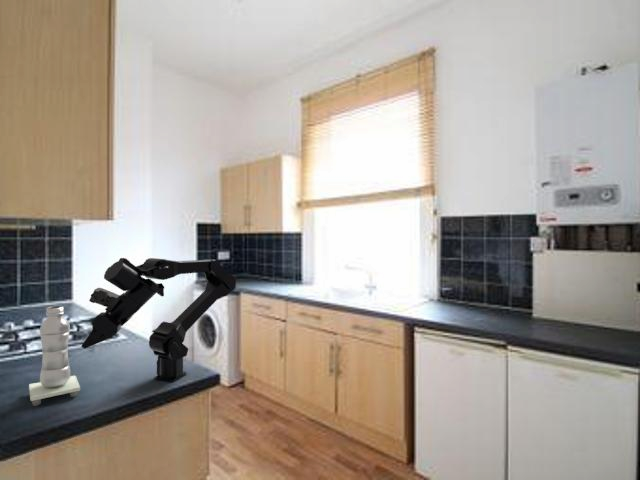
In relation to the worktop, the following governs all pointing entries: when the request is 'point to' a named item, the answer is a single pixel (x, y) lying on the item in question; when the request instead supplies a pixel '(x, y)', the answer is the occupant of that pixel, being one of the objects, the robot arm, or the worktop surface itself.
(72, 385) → the plate
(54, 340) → the plastic bottle
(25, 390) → the worktop surface
